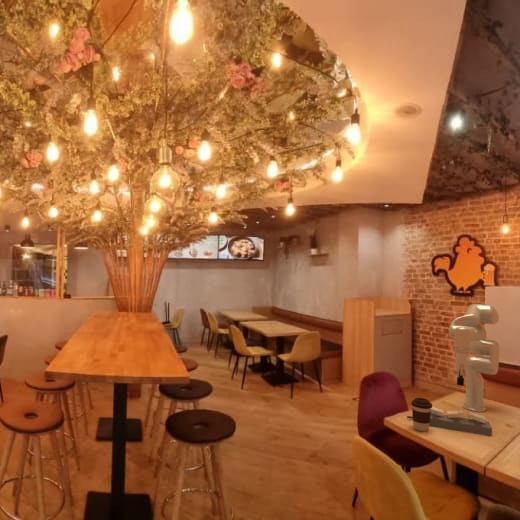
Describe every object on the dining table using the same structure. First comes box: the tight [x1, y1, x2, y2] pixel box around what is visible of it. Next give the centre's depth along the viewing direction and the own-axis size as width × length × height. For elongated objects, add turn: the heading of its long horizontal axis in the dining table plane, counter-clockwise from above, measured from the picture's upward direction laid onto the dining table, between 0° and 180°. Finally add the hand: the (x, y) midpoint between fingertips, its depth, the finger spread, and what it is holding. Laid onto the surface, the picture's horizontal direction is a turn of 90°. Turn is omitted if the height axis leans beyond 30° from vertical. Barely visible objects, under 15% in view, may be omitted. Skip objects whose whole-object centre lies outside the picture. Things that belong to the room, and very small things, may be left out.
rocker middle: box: [446, 409, 466, 418], centre depth 218 cm, size 5×8×2 cm, turn 69°
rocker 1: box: [431, 406, 445, 417], centre depth 221 cm, size 5×8×2 cm, turn 69°
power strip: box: [406, 413, 493, 437], centre depth 217 cm, size 10×40×5 cm, turn 69°
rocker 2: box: [467, 410, 487, 424], centre depth 214 cm, size 5×8×2 cm, turn 69°
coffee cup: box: [411, 397, 433, 432], centre depth 211 cm, size 10×10×15 cm
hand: (460, 385), depth 218 cm, fingers closed
